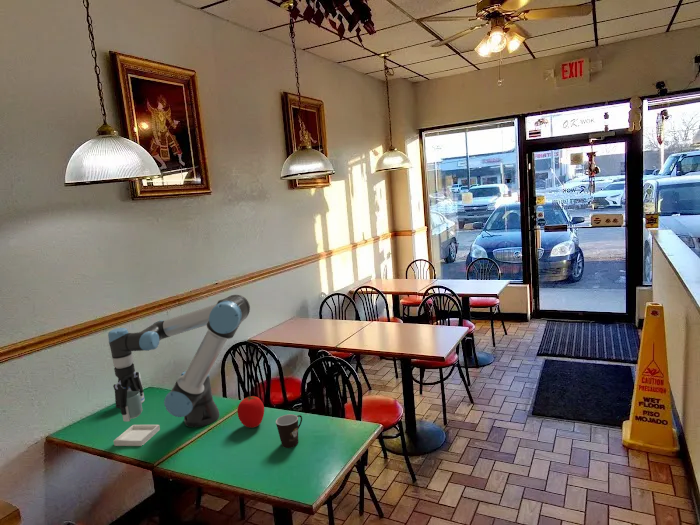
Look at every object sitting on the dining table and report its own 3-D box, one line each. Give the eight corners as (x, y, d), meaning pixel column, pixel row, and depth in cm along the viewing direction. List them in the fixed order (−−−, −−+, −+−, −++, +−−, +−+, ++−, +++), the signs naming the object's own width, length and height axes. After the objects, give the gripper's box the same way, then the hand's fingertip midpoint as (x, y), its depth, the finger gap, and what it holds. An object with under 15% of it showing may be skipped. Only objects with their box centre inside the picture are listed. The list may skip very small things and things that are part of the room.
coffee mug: (283, 452, 181) (280, 427, 180) (276, 442, 189) (272, 419, 187) (311, 442, 186) (308, 418, 185) (303, 432, 194) (300, 409, 192)
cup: (136, 421, 199) (131, 398, 197) (119, 421, 201) (115, 398, 199) (147, 412, 206) (143, 390, 205) (131, 412, 208) (127, 390, 206)
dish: (160, 429, 210) (159, 424, 210) (142, 445, 197) (141, 440, 197) (133, 429, 213) (132, 424, 212) (114, 445, 200) (113, 440, 200)
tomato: (248, 435, 197) (243, 406, 195) (235, 427, 205) (231, 399, 203) (271, 424, 204) (267, 396, 202) (258, 416, 212) (254, 389, 210)
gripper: (131, 356, 210) (140, 404, 214) (98, 375, 190) (109, 428, 194) (146, 355, 209) (155, 404, 213) (115, 375, 189) (125, 428, 193)
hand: (133, 415), depth 203 cm, fingers closed on cup, 8 cm apart
